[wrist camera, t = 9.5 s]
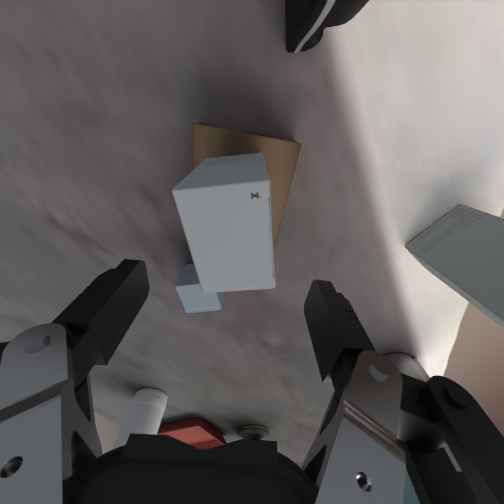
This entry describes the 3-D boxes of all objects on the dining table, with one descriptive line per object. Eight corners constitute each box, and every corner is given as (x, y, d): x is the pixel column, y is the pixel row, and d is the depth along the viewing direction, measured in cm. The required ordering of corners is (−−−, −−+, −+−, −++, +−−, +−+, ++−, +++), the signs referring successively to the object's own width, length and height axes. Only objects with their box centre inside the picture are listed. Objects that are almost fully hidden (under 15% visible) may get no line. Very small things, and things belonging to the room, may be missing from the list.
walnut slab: (293, 140, 23) (301, 143, 20) (270, 236, 29) (273, 251, 26) (201, 122, 22) (193, 123, 19) (198, 225, 28) (191, 240, 25)
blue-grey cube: (218, 260, 31) (212, 282, 27) (225, 285, 34) (221, 309, 29) (185, 264, 31) (175, 286, 27) (194, 289, 34) (186, 313, 30)
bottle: (163, 387, 50) (74, 659, 25) (171, 402, 54) (102, 648, 29) (130, 388, 50) (9, 660, 25) (141, 403, 55) (46, 649, 29)
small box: (205, 157, 20) (166, 185, 11) (263, 151, 20) (271, 175, 11) (220, 231, 24) (200, 295, 15) (268, 227, 24) (276, 290, 15)
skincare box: (422, 265, 32) (536, 362, 19) (400, 243, 29) (513, 335, 17) (482, 226, 28) (670, 311, 16) (463, 198, 26) (662, 270, 13)
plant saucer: (148, 423, 63) (144, 438, 60) (200, 412, 59) (197, 427, 56) (183, 443, 71) (180, 456, 68) (230, 434, 67) (229, 448, 65)
